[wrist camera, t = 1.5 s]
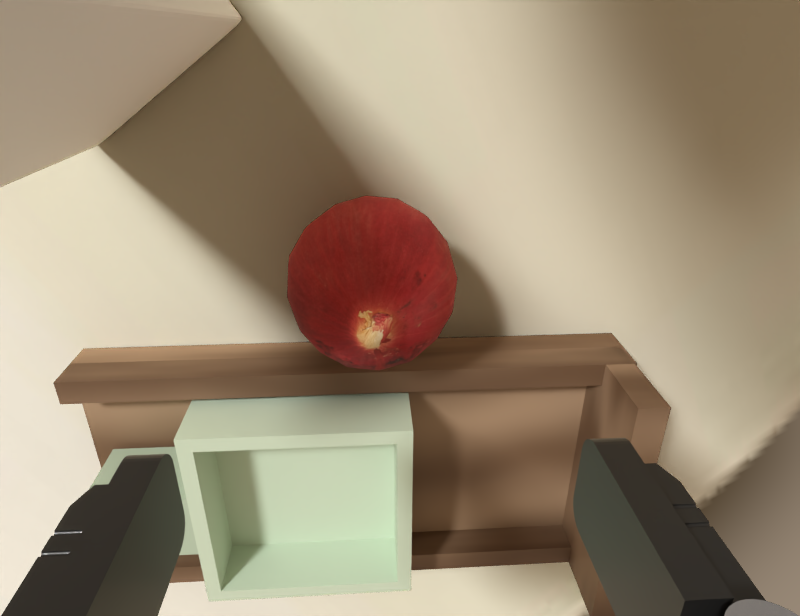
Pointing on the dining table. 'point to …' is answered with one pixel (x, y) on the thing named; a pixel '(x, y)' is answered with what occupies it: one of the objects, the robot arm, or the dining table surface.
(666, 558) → the robot arm
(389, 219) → the onion
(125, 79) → the milk carton
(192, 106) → the dining table surface
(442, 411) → the rail
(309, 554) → the sled
